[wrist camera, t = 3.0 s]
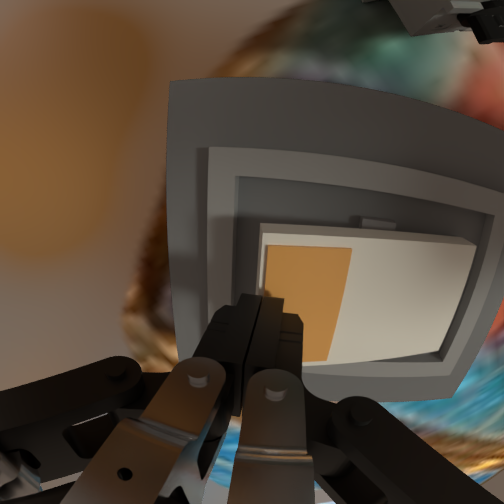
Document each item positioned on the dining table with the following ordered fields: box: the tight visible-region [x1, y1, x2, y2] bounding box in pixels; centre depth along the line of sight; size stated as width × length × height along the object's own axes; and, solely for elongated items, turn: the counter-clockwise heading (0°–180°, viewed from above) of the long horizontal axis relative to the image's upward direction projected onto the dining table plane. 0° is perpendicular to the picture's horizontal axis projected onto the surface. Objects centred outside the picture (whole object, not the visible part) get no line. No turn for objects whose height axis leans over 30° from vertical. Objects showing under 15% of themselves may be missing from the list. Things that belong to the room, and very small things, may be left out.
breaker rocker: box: [255, 223, 477, 366], centre depth 11 cm, size 10×6×1 cm, turn 87°
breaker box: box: [166, 77, 504, 402], centre depth 16 cm, size 20×18×7 cm
